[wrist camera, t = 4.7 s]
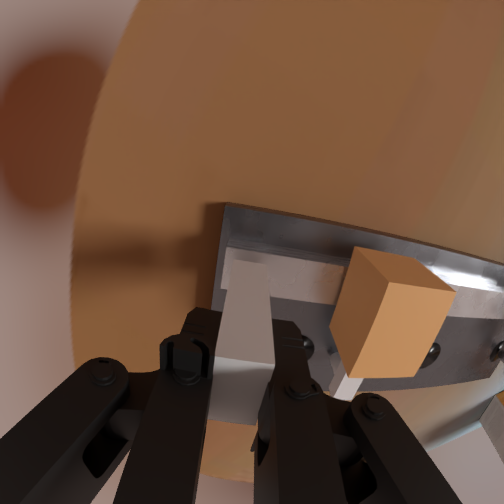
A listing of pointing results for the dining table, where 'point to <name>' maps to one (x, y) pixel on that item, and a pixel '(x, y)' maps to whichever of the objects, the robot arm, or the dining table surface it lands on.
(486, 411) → the small box
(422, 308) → the block
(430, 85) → the dining table surface
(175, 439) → the robot arm
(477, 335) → the bolt plate
